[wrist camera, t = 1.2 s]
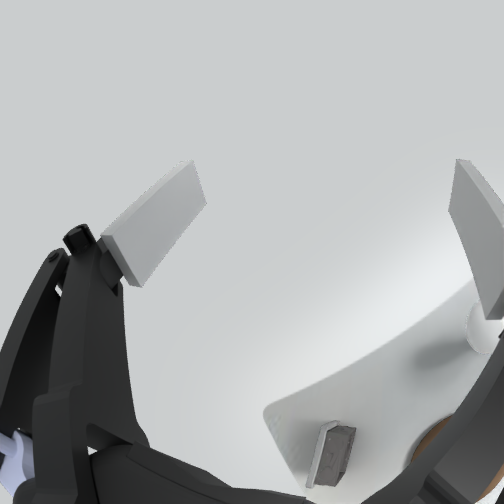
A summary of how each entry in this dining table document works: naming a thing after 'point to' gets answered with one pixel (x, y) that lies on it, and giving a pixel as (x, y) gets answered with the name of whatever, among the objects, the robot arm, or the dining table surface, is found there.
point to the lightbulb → (482, 330)
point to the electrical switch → (331, 454)
